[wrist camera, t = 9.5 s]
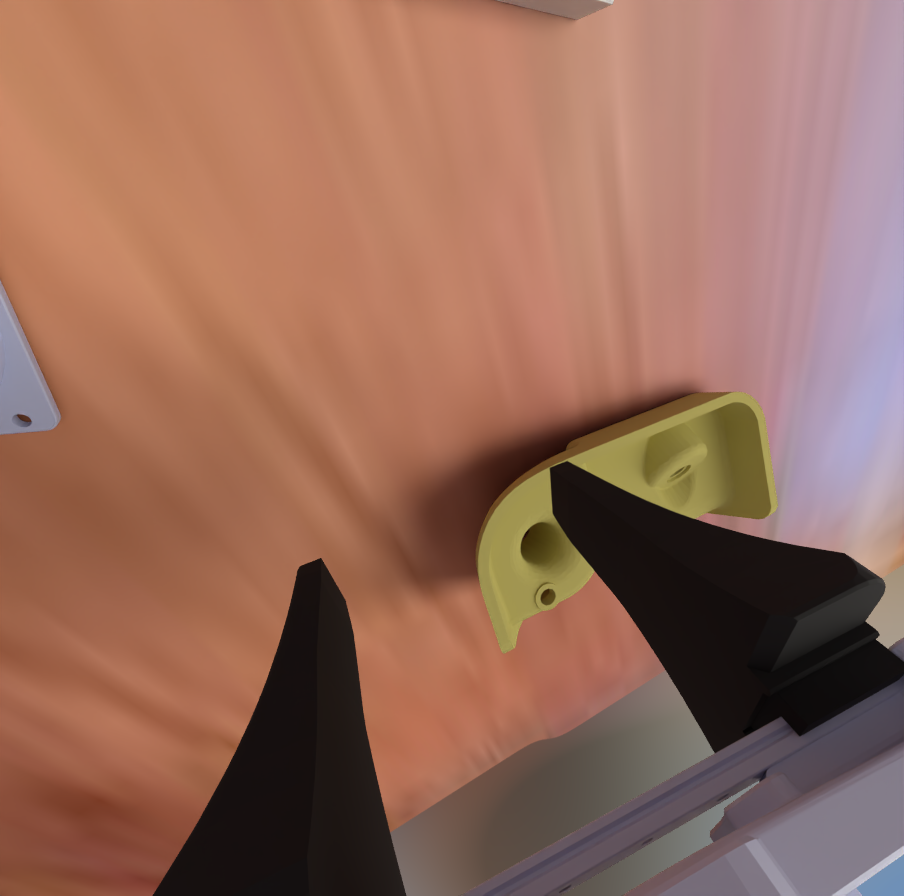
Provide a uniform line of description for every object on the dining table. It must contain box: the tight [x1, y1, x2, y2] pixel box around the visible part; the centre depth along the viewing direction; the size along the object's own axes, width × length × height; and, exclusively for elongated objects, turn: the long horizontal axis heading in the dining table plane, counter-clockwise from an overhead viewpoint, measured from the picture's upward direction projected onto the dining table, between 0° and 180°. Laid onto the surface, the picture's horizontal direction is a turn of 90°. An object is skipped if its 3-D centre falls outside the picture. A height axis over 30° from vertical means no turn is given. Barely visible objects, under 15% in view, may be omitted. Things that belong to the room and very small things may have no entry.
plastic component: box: [476, 392, 778, 653], centre depth 27 cm, size 20×7×10 cm
